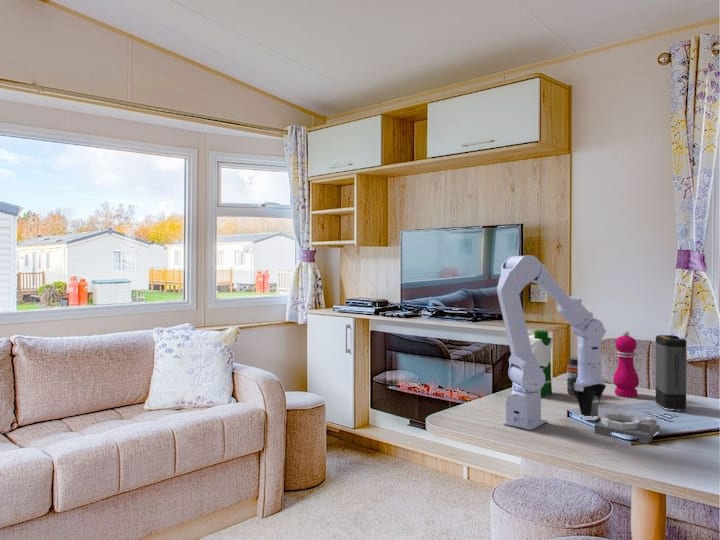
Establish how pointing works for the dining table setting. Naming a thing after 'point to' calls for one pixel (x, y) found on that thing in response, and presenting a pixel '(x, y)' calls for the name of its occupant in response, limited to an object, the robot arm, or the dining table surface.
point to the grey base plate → (627, 426)
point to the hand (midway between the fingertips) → (589, 412)
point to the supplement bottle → (572, 374)
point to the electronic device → (671, 372)
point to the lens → (594, 407)
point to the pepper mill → (626, 367)
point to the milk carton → (543, 357)
